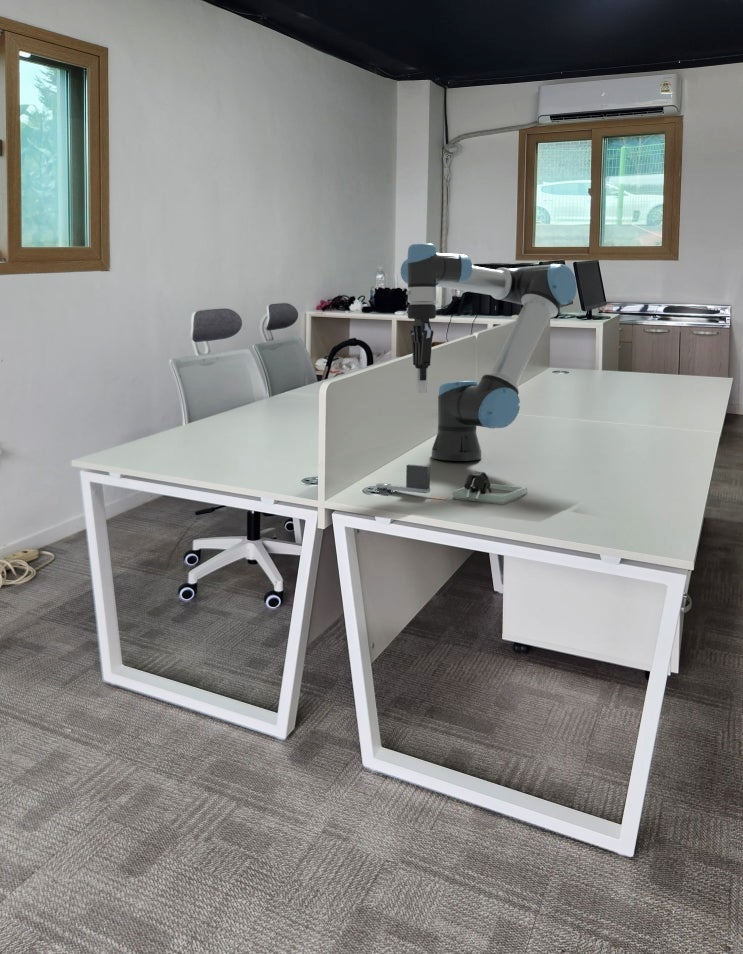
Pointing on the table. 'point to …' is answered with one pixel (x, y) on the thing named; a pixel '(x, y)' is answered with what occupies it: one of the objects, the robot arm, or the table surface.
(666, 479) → the table surface
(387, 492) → the hub
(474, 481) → the power plug
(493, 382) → the robot arm
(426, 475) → the crank
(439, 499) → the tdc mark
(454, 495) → the tray
